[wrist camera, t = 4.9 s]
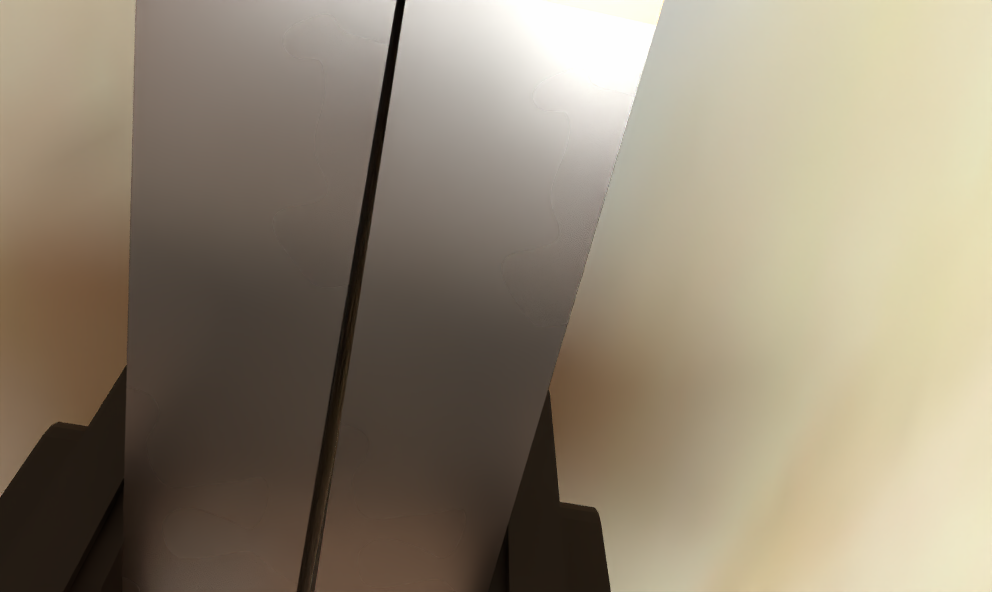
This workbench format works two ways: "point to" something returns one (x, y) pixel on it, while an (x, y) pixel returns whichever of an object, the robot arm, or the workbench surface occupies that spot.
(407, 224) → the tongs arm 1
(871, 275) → the workbench surface
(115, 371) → the workbench surface
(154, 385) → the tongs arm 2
